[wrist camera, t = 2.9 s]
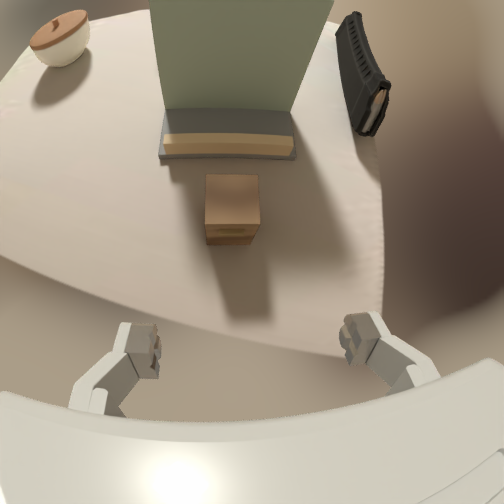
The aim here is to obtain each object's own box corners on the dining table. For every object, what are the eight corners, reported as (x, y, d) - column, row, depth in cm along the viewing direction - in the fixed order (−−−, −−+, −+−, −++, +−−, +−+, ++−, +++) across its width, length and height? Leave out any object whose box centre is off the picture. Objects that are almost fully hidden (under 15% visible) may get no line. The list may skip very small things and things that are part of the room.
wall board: (294, 160, 37) (357, 40, 16) (159, 158, 34) (124, 26, 14) (287, 106, 39) (329, -7, 18) (167, 103, 36) (152, -17, 16)
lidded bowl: (106, 36, 39) (96, -2, 28) (77, 73, 36) (60, 32, 26) (62, 43, 38) (49, 10, 27) (33, 80, 35) (14, 46, 24)
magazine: (344, 5, 38) (397, 43, 23) (358, 10, 38) (418, 54, 23) (323, 66, 52) (351, 140, 37) (336, 70, 53) (370, 146, 38)
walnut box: (249, 248, 33) (260, 229, 25) (207, 249, 33) (204, 229, 25) (248, 205, 34) (257, 174, 27) (207, 204, 34) (205, 174, 26)
